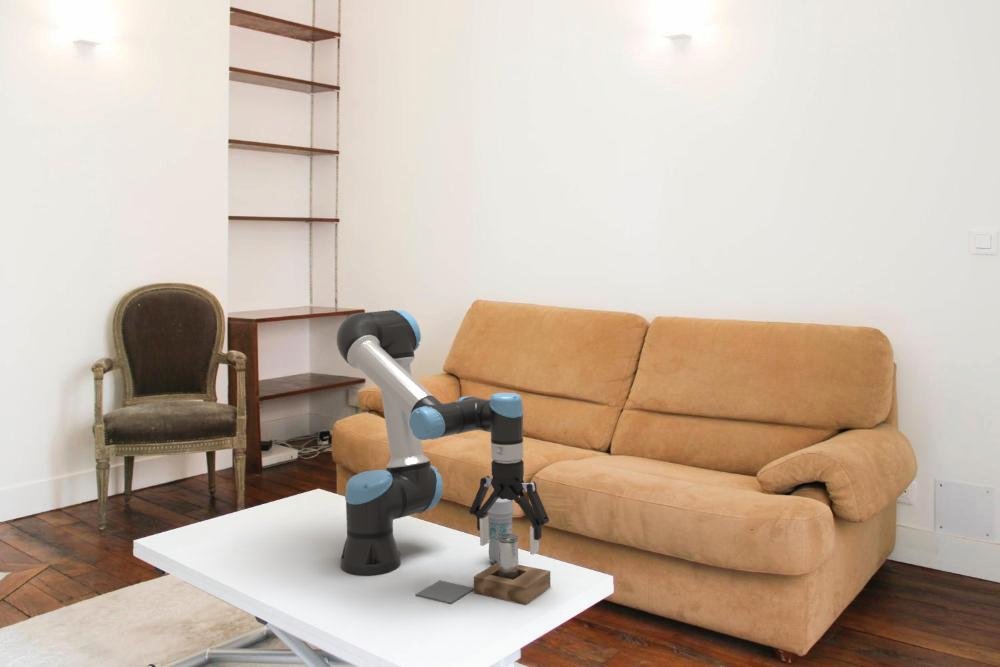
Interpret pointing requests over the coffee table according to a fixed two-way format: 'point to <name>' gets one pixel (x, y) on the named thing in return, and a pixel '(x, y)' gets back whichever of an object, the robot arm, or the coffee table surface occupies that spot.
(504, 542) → the shiny metal cylinder
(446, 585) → the mat
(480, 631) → the coffee table surface
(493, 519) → the bottle
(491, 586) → the housing
